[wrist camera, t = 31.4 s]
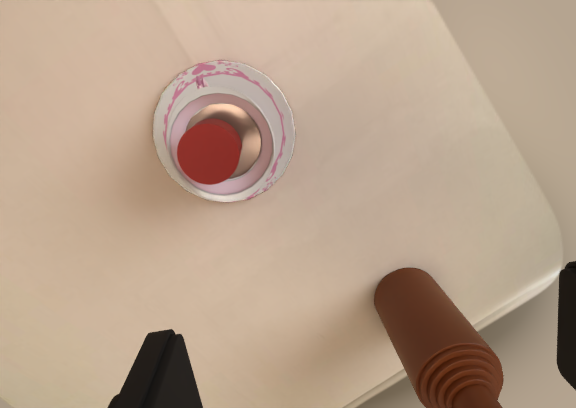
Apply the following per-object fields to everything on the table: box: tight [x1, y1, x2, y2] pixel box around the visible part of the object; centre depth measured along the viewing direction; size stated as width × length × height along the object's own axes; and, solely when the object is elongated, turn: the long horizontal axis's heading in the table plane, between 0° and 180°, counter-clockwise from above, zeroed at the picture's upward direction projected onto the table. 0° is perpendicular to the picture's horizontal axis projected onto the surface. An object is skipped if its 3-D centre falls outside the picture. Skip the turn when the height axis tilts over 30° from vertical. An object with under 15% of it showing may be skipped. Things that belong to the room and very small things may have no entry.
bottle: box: [374, 268, 503, 408], centre depth 34 cm, size 6×6×17 cm
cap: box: [177, 119, 242, 185], centre depth 29 cm, size 4×4×3 cm
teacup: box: [153, 60, 296, 203], centre depth 33 cm, size 12×12×6 cm
